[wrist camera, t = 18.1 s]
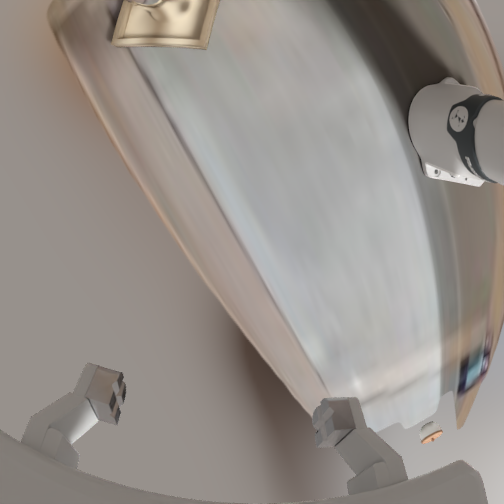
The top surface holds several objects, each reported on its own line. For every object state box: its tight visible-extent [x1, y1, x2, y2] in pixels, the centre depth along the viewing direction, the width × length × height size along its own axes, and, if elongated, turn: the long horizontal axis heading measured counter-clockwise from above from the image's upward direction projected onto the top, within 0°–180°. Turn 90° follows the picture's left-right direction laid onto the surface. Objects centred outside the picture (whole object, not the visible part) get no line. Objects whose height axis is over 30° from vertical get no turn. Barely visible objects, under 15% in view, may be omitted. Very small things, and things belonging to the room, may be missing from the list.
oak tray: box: [111, 0, 220, 50], centre depth 26 cm, size 14×14×3 cm
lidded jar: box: [420, 422, 443, 444], centre depth 86 cm, size 11×11×9 cm
